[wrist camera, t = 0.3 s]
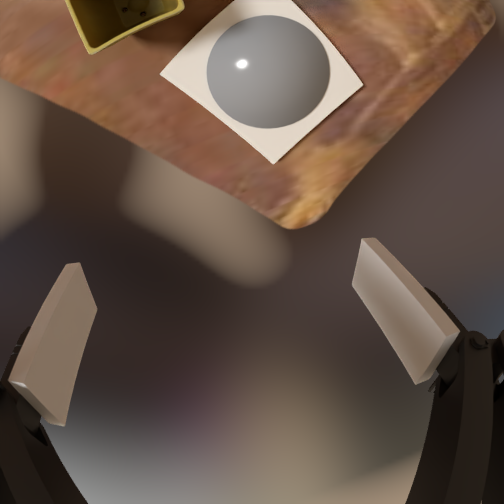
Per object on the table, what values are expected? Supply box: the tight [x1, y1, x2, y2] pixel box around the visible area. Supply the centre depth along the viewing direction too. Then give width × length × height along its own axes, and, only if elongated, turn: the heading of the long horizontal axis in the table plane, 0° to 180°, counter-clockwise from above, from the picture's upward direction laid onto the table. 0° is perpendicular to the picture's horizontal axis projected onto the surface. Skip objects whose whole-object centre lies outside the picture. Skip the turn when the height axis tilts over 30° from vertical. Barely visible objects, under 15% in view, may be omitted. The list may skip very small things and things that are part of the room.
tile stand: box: [160, 0, 363, 164], centre depth 27 cm, size 16×18×2 cm
